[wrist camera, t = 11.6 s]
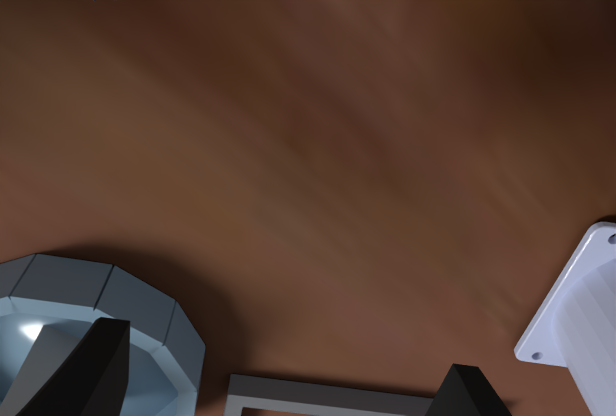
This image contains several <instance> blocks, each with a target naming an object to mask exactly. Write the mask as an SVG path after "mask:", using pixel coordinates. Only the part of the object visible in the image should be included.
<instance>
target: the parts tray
mask: <svg viewBox="0 0 616 416" xmlns="http://www.w3.org/2000/svg"><path fill="white" fill-rule="evenodd" d="M432 401H433V399H431V398H423V397H415V396H407V395H399V394H391V393H383V392H375V391H367V390H358V389H350V388H342V387H334V386H326V385H318V384H310V383H302V382H294V381H286V380H278V379H269V378H261V377H253V376H245V375H237V374H231V376H230V381H229V386H228V391H227V396H226V402H225V407H224V412H223V416H241V412H242V408H243V407H249V408H258V409H267V410H275V411H284V412H292V413H301V414H310V415H318V416H425V414H426V412H427V411H428V409H429V407H430V405H431V403H432Z"/></svg>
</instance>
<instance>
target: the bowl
mask: <svg viewBox="0 0 616 416" xmlns="http://www.w3.org/2000/svg"><path fill="white" fill-rule="evenodd" d="M100 317H106V318H114V319H121V320H129V321H130V353H129V356H130V359H129V383H128V386H127V390H126V394H125V398H124V402H123V405H122V409H121V413H120V416H195V410H196V405H197V400H198V394H199V389H200V382H201V376H202V369H203V362H204V355H205V348H206V347H205V344H204V343H203V341H202V339H201V338H200V336H199V335H198V333H197V332H196V330H195V329H194V327H193V325H192V324H191V322H190V321H189V319H188V318H187V316H186V315H185V313H184V312H183V310H182V308H181V307H180V305H179V304H178V302H177V301H176V302H175V299H173V298H171V297H169V296H168V295H166V294H164V293H162V292H161V291H159V290H157V289H155V288H154V287H152V286H150V285H148V284H147V283H145V282H143V281H141V280H140V279H138V278H136V277H134V276H133V275H131V274H129V273H127V272H126V271H124V270H122V269H120V268H119V267H117V266H114V267H113V268H112V264H105V263H98V262H91V261H84V260H77V259H70V258H63V257H56V256H50V255H43V254H37V255H35V254H33V255H29V256H26V257H23V258H19V259H16V260H12V261H9V262H5V263H2V264H0V406H1V404H2V402H3V400H4V398H5V396H6V394H7V393H8V391H9V389H10V387H11V385H12V383H13V381H14V379H15V377H16V376H17V374H18V372H19V370H20V368H21V366H22V364H23V362H24V361H25V359H26V357H27V355H28V353H29V351H30V349H31V347H32V346H33V344H34V342H35V340H36V338H37V336H38V334H39V332H40V330H41V329H42V327H43V325H45V326H48V327H51V328H54V329H56V330H59V331H62V332H65V333H67V334H70V335H73V336H76V337H78V338H81V339H82V338H83V337H84V335H85V334H86V333H87V331H88V330H89V328H90V327H91V326H92V324H93V323H94V321H95V320H96V319H98V318H100Z"/></svg>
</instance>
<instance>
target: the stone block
mask: <svg viewBox="0 0 616 416" xmlns="http://www.w3.org/2000/svg"><path fill="white" fill-rule="evenodd" d="M80 341H81V338H78V337H76V336H73V335H70V334H67V333H65V332H62V331H59V330H56V329H54V328H51V327H48V326H45V325H43V327H42V329H41V330H40V332H39V334H38V336H37V338H36V340H35V342H34V344H33V346H32V347H31V349H30V351H29V353H28V355H27V357H26V359H25V361H24V362H23V364H22V366H21V368H20V370H19V372H18V374H17V376H16V377H15V379H14V381H13V383H12V385H11V387H10V389H9V391H8V393H7V394H6V396H5V398H4V400H3V402H2V404H1V406H0V416H15V415H16V414H17V413H18V412H19V411H20V410H21V409H22V408H23V407H24V406H25V405H26V404H27V403H28V402H29V401H30V400H31V398H32V397H33V396H34V395H35V394H36V393H37V392H38V391H39V389H40V388H41V387H42V386H43V385H44V384H45V383H46V382H47V380H48V379H49V378H50V377H51V376H52V375H53V374H54V372H55V371H56V370H57V369H58V368H59V367H60V365H61V364H62V363H63V362H64V361H65V359H66V358H67V357H68V356H69V354H70V353H71V352H72V351H73V349H74V348H75V347H76V346H77V344H78V343H79V342H80ZM129 359H130V356H129Z"/></svg>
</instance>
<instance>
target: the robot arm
mask: <svg viewBox="0 0 616 416" xmlns="http://www.w3.org/2000/svg"><path fill="white" fill-rule="evenodd" d="M614 234H616V223H610V222H598V223H595V224H594V225H592V226H591V227H590V228H589V229H588V230H587V232H586V234H585V235H584V237H583V239H582V240H581V242H580V243H579V245H578V247H577V248H576V250H575V251H574V253H573V255H572V256H571V258H570V259H569V261H568V263H567V264H566V266H565V268H564V269H563V271H562V272H561V274H560V276H559V277H558V279H557V280H556V282H555V284H554V285H553V287H552V288H551V290H550V292H549V293H548V295H547V297H546V298H545V300H544V301H543V303H542V305H541V306H540V308H539V309H538V311H537V313H536V314H535V316H534V318H533V319H532V321H531V322H530V324H529V326H528V327H527V329H526V330H525V332H524V334H523V335H522V337H521V338H520V340H519V342H518V343H517V345H516V347H515V349H514V352H515V355H516V357H517V358H518V359H519V360H521V361H527V362H534V363H541V364H549V365H556V366H564V367H568V369H569V371H570V373H571V375H572V377H573V379H574V381H575V382H576V384H577V386H578V388H579V390H580V392H581V394H582V396H583V398H584V400H585V402H586V404H587V406H588V408H589V410H590V412H591V414H592V416H616V235H615V236H614V237H611V238H609V237H610V236H611V235H614ZM129 353H130V321H129V320H121V319H114V318H106V317H100V318H98V319H96V320H95V321H94V323H93V324H92V326H91V327H90V328H89V330H88V331H87V333H86V334H85V335H84V337H83V338H82V339H81V341H80V342H79V343H78V344H77V346H76V347H75V348H74V349H73V351H72V352H71V353H70V354H69V356H68V357H67V358H66V359H65V361H64V362H63V363H62V364H61V365H60V367H59V368H58V369H57V370H56V371H55V372H54V374H53V375H52V376H51V377H50V378H49V379H48V380H47V382H46V383H45V384H44V385H43V386H42V387H41V388H40V389H39V391H38V392H37V393H36V394H35V395H34V396H33V397H32V398H31V400H30V401H29V402H28V403H27V404H26V405H25V406H24V407H23V408H22V409H21V410H20V411H19V412H18V413H17V414H16V415H15V416H120V413H121V409H122V405H123V402H124V398H125V394H126V390H127V386H128V383H129ZM425 416H512V415H511V414H510V412H509V411H508V409H507V408H506V406H505V405H504V403H503V402H502V401H501V399H500V398H499V396H498V395H497V393H496V392H495V390H494V389H493V387H492V386H491V385H490V383H489V382H488V380H487V379H486V377H485V376H484V374H483V373H482V372H481V370H480V369H479V367H475V366H468V365H460V364H452V366H451V368H450V370H449V372H448V373H447V375H446V377H445V379H444V381H443V383H442V385H441V386H440V388H439V390H438V392H437V394H436V396H435V398H434V399H433V401H432V403H431V405H430V407H429V409H428V411H427V412H426V414H425Z"/></svg>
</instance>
